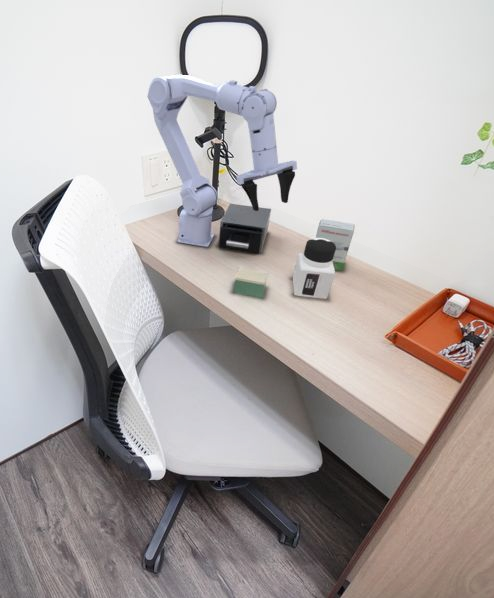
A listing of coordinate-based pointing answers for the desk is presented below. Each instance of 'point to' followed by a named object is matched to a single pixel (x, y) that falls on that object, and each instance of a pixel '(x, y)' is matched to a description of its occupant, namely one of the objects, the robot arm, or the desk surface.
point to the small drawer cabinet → (247, 219)
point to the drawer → (240, 238)
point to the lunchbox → (250, 282)
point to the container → (315, 269)
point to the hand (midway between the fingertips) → (270, 206)
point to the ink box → (337, 239)
